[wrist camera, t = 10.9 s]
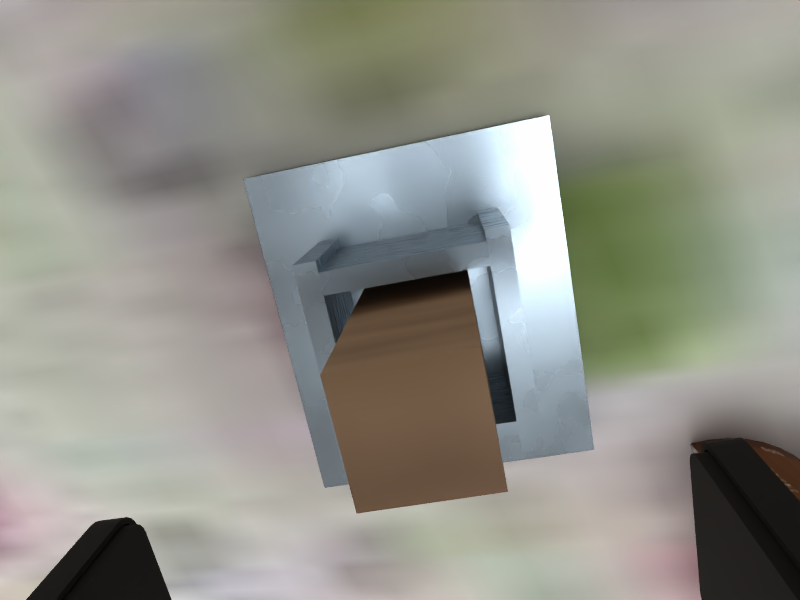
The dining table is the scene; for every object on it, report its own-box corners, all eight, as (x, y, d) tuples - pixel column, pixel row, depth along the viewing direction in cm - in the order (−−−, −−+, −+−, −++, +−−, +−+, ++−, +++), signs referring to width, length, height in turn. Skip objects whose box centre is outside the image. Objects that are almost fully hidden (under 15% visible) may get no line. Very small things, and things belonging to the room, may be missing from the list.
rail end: (368, 279, 25) (320, 375, 15) (465, 260, 24) (480, 347, 14) (389, 369, 26) (356, 513, 16) (483, 353, 25) (507, 491, 15)
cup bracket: (249, 177, 25) (198, 189, 19) (545, 115, 23) (574, 111, 18) (328, 477, 28) (302, 554, 23) (589, 440, 27) (624, 513, 22)
